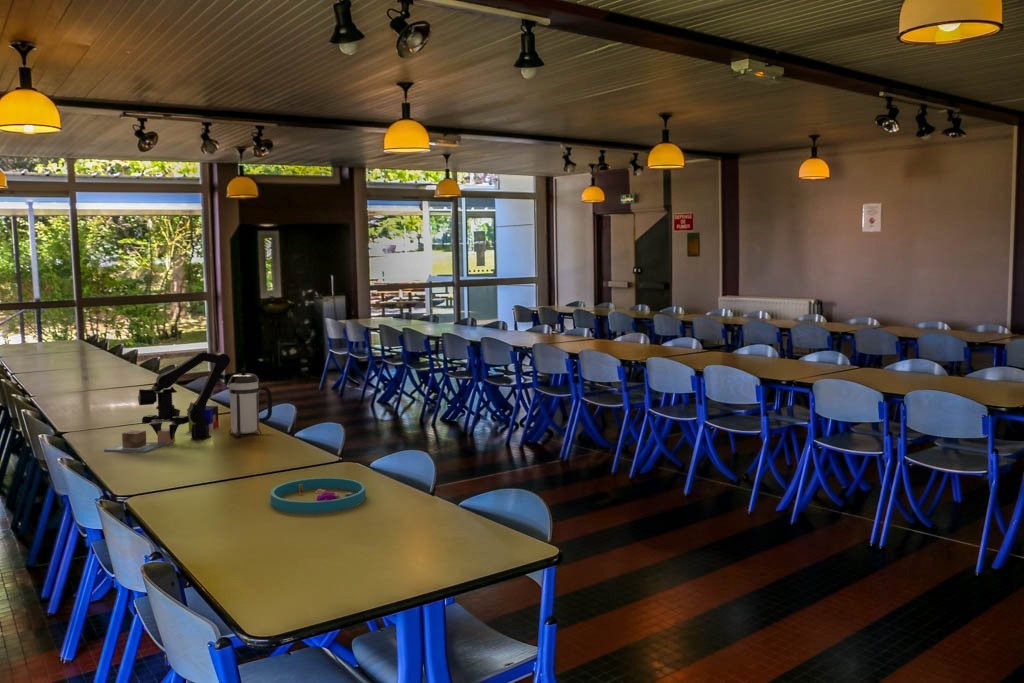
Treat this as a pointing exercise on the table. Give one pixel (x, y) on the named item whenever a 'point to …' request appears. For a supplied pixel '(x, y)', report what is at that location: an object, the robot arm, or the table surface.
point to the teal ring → (325, 500)
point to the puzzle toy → (209, 417)
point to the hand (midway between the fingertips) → (166, 439)
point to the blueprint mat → (143, 449)
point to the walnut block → (134, 439)
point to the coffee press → (246, 403)
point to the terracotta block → (164, 436)
